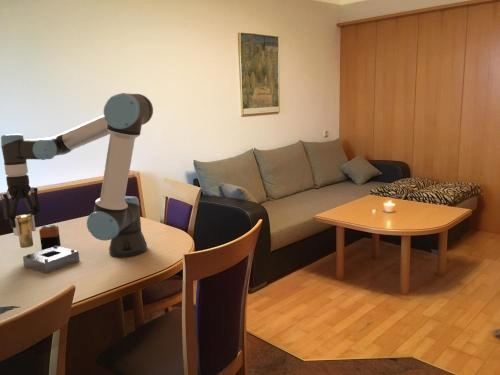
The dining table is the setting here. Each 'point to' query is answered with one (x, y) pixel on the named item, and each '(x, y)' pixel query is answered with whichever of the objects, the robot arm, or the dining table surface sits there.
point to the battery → (49, 237)
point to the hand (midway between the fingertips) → (25, 232)
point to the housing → (51, 259)
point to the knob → (25, 231)
